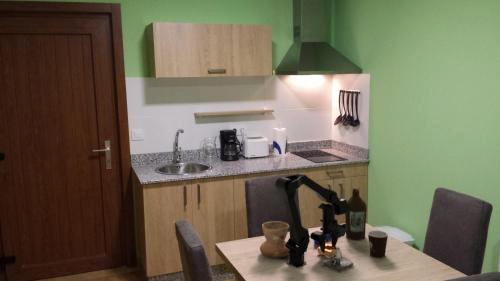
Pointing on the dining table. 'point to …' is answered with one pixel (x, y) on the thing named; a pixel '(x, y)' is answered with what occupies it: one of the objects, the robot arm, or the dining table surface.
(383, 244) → the coffee mug
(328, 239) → the cable clip
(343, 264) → the post
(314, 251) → the dining table surface
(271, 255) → the ceramic jug
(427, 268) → the dining table surface
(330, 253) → the wooden square frame
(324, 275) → the dining table surface
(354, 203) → the brown bottle
